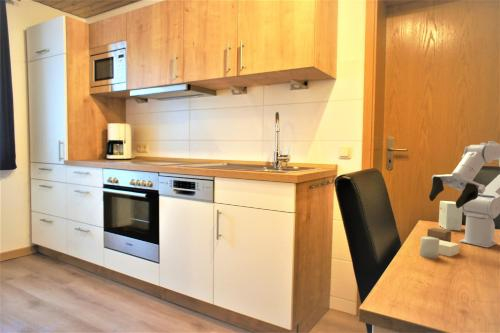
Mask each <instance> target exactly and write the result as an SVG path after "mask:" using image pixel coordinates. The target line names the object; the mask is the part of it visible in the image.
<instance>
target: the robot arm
mask: <svg viewBox="0 0 500 333" xmlns="http://www.w3.org/2000/svg"><path fill="white" fill-rule="evenodd" d="M487 142H488V143H486V142H480V143H479V144H470V145H468V146H465V147H464V150H463V155H462V156H461V160H460V161H459V163H458V164H457V166H456V167H455V168H454V169H453V171H452V172H451V173H450V174H433V175H432V177H431V178H430V179H431V183H432V184H431V185H432V186H431V189H430V190H431V191H430V192H429V196H428V197H429V200H430V202H433V201H435V199H436V198H437V196H439V194H440V193H442V192H443V191H445V187H444V185H446V186H448V187H451V188H452V189H455V190H457V191H462V192H461V194H460V195H459V197H458V198H457V200H456V201H455V202H456V207H457V208H460V207H461V209H462V213H463V215H464V216H466V217H465V227H464V228H465V231H464V238H462V239H460V240H459V242H460V243H465V244H469V245H474V246H477V247H483V248H490V247H493V246H495V245H497V244H498V242H497V241H495V240H494V239H495V229H496V228H495V227H496V225H495V222H494V219H496V218H497V217H498V216H499V215H500V173H499V174H498V175H497V176H496V177H495V178H493V180H491V181H490V183H488V184H487V185H485V184H481V183H478V182H476V181H474V179H475V177H476V176H477V174H478V173H479V172H480V170H481V169H482V168H483V166H484V165H485V164H487V163H488V164H491V163H492V162H493V161H495V160H496V161H497V160H498V162H499V163H498V165H499V166H500V143H498V142H496V141H490V140H489V141H487Z"/></svg>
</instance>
